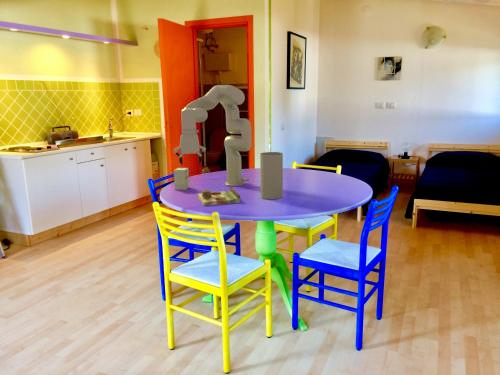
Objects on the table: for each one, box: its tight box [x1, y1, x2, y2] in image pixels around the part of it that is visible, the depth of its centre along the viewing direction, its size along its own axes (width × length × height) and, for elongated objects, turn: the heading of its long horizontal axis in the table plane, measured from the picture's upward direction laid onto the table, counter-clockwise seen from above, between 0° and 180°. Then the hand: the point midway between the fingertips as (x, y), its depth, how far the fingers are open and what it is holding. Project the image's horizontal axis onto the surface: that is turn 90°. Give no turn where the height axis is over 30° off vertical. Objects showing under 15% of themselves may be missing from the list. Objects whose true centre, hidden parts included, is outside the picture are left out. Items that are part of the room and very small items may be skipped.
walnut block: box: [201, 189, 212, 199], centre depth 230 cm, size 4×4×4 cm
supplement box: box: [173, 167, 190, 191], centre depth 259 cm, size 7×7×13 cm
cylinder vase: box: [259, 151, 284, 201], centre depth 233 cm, size 12×12×25 cm
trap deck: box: [197, 187, 241, 207], centre depth 232 cm, size 20×20×4 cm
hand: (190, 164), depth 224 cm, fingers open, 9 cm apart
